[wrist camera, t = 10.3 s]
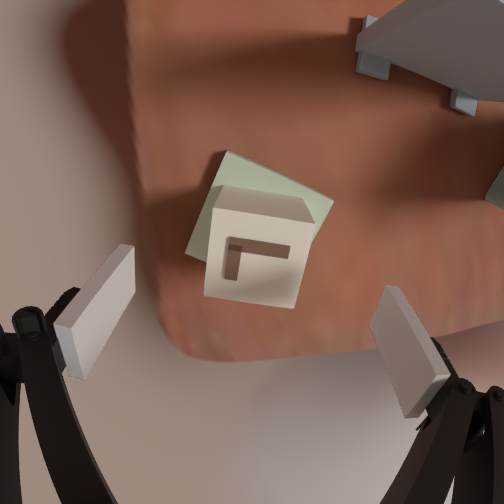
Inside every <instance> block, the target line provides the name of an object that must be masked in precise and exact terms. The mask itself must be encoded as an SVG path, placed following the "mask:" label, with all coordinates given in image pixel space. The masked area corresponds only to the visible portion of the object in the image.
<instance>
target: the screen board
mask: <svg viewBox="0 0 504 504" xmlns="http://www.w3.org/2000/svg"><path fill="white" fill-rule="evenodd" d="M355 52H358V59H357V65H356V71H355V72H358V73H361V74H365V75H368V76H371V77H374V78H377V79H380V80H388V77H389V71H390V64H394V65H397V66H399V67H402V68H405V69H407V70H410V71H412V72H415V73H417V74H420V75H422V76H424V77H427V78H429V79H431V80H434V81H436V82H438V83H440V84H442V85H444V86H447V87H449V88H451V89H452V91H451V97H450V104H449V107H451V108H453V109H456V110H458V111H460V112H462V113H464V114H466V115H468V116H474V117H475V114H476V107H477V101H478V100H481V101H495V102H504V0H406V1H404V2H403V3H401V4H400V5H398V6H397V7H395V8H394V9H392V10H391V11H390V12H388V13H387V14H385V15H384V16H382V17H381V18H376V17H373V16H370V15H366V16H365V17H364V18H363V25H362V31H361V32H360V33H359V34H357V41H356V47H355Z"/></svg>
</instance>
